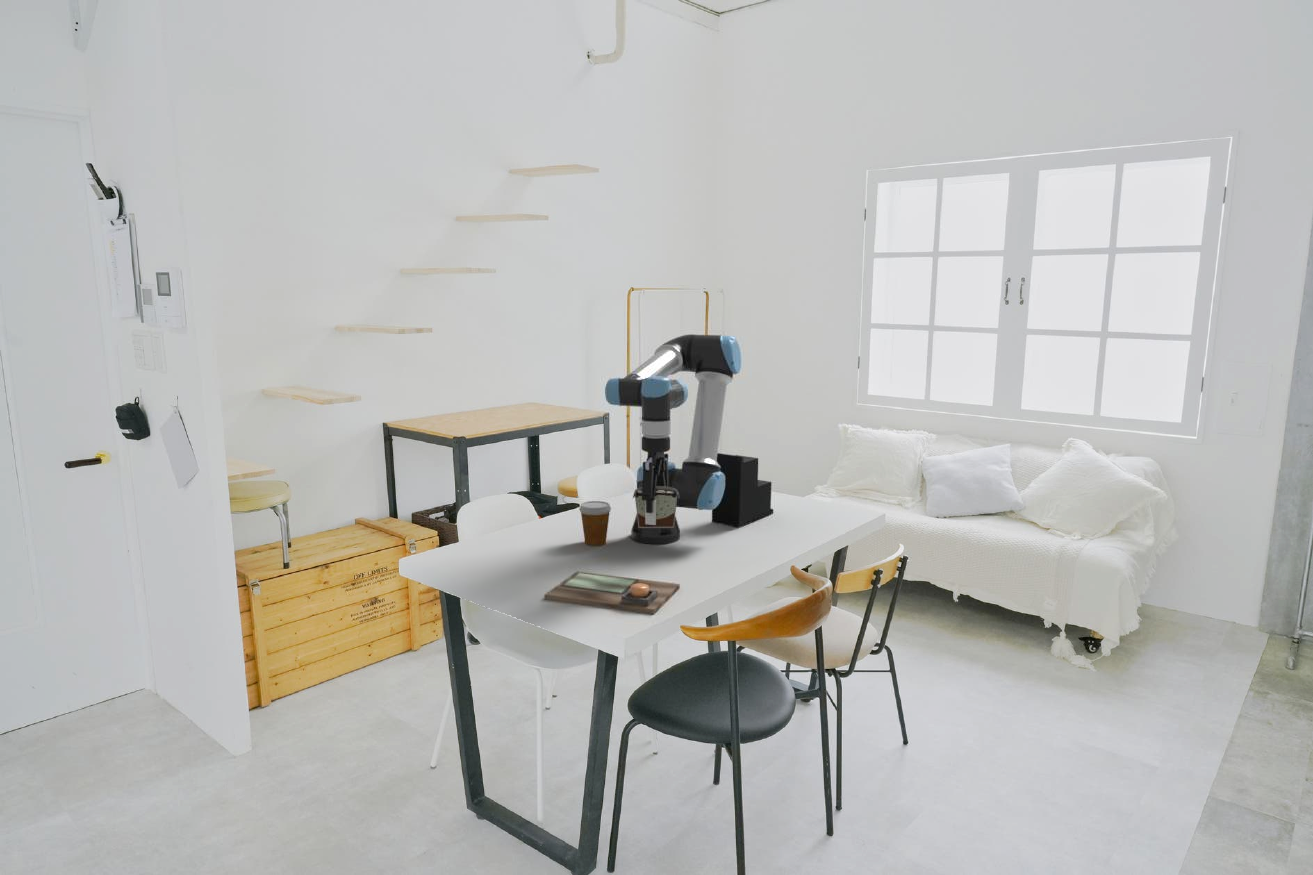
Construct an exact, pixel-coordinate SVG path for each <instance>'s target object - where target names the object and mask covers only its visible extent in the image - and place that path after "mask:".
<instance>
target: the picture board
mask: <svg viewBox="0 0 1313 875" xmlns="http://www.w3.org/2000/svg"><path fill="white" fill-rule="evenodd" d="M637 583H642V584H647V585H648V586H649V595H648V596H646V597H633V596H631V585H633V584H637ZM680 586H681V585H680V583H673V582H666V581H665V582H664V581H656V580H651V579H641V578H634V577H625V576H616V575H610V574H609V575H608V574H601V573H600V574H599V573H594V572H593V573H592V572H584V571H578V570H577V571H575V572H574V573H573V574H571V575H570V576H568V577H567V578H565V579H564V580H562V581H561V582H560V583H559V584H557V585H555V586H554V587H553V588H552V589H550V590H549V591H548V592H546V593H544V600H548V601H554V602H556V601H557V602H563V603H570V604H577V605H578V604H579V605H585V606H593V607H600V608H607V609H615V610H621V611H630V612H636V613H644V614H651V615H655V614H656V613H657V612H658V611H660V609H662V607H664V605H665V604H666V603H667V602H669V600H670V599H671V598H672V597H673V596H674V595H675V594H676V593H677V592H678V591H679V590H680Z"/></svg>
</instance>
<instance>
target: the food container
mask: <svg viewBox="0 0 1313 875" xmlns="http://www.w3.org/2000/svg"><path fill="white" fill-rule="evenodd" d="M677 497H679V493H678V490H677V489H675V488H671V487H665V486H656V491H655V500H656V525H649V524H645V500H642V487H641V488H638V489H637V488H636V489H635V490H634V492H633V496H632V499H634V498H635V499H634V500H635V508H636V509H635V510H636V514H637V519H638V528H674V522H675V516H676V514H677V507H676V504H677ZM679 498H680V497H679Z"/></svg>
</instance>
